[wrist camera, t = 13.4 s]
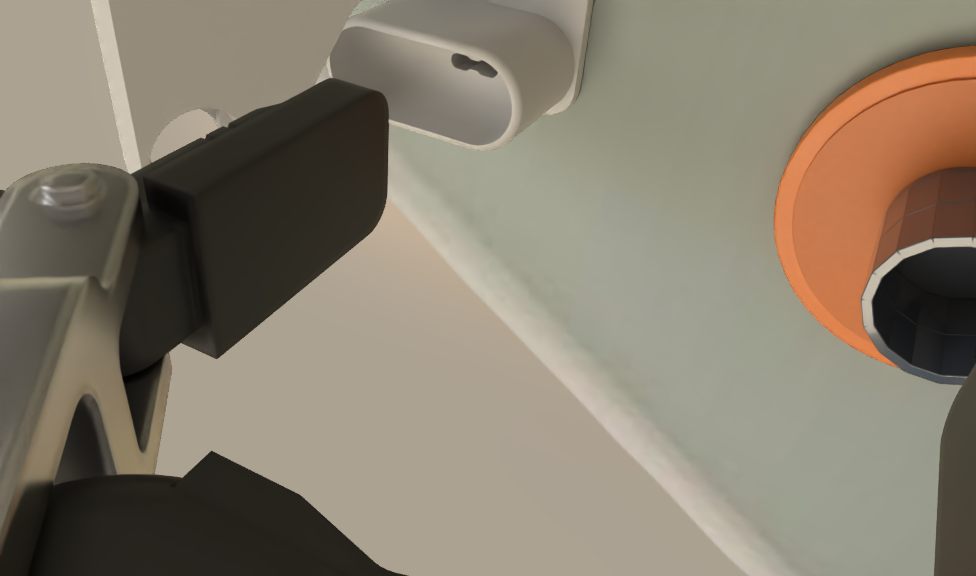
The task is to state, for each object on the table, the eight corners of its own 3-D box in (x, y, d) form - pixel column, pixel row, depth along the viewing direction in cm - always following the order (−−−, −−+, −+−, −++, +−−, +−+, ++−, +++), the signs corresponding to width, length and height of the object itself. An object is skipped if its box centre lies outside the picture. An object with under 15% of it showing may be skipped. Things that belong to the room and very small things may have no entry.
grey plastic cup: (859, 272, 35) (838, 349, 30) (912, 147, 31) (896, 214, 27) (1010, 319, 33) (1011, 409, 28) (1083, 191, 29) (1097, 271, 25)
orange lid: (744, 297, 40) (736, 314, 38) (840, 7, 31) (833, 17, 30) (1067, 408, 35) (1069, 431, 34) (1280, 99, 27) (1292, 115, 25)
